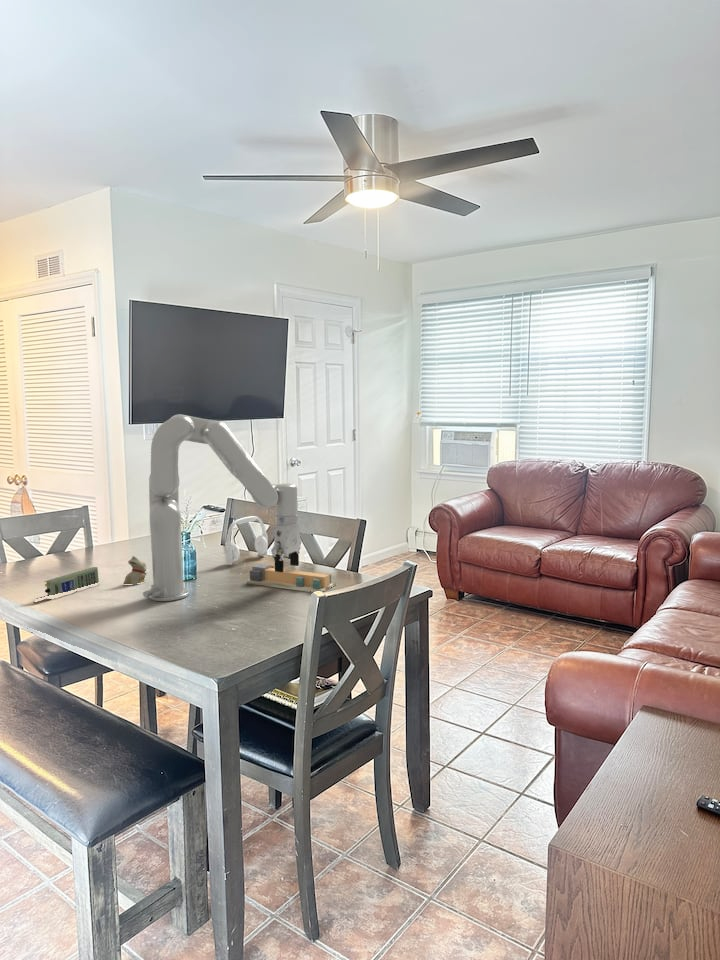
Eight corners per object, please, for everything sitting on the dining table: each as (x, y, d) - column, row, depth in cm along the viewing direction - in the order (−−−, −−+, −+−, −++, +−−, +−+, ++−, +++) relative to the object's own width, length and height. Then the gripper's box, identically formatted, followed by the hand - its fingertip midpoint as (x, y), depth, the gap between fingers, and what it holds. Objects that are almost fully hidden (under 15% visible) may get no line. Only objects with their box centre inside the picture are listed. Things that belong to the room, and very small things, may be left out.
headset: (233, 567, 254) (232, 521, 252) (221, 564, 258) (220, 519, 256) (271, 557, 269) (270, 514, 267) (259, 554, 274) (258, 512, 272)
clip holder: (321, 593, 218) (321, 580, 217) (246, 583, 231) (246, 571, 231) (335, 585, 227) (335, 573, 226) (263, 576, 240) (262, 564, 239)
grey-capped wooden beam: (324, 588, 220) (323, 575, 220) (252, 578, 233) (252, 566, 233) (330, 584, 224) (330, 572, 224) (259, 575, 237) (259, 563, 237)
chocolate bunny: (147, 584, 232) (145, 556, 230) (123, 586, 229) (121, 558, 228) (147, 580, 237) (145, 553, 236) (123, 582, 235) (122, 554, 233)
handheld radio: (100, 585, 232) (38, 605, 209) (94, 585, 233) (31, 605, 211) (99, 567, 231) (36, 585, 209) (92, 566, 232) (29, 584, 210)
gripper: (281, 524, 217) (282, 575, 219) (308, 516, 233) (309, 564, 235) (262, 522, 220) (263, 572, 222) (290, 515, 236) (291, 562, 238)
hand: (287, 568), depth 228 cm, fingers open, 9 cm apart
